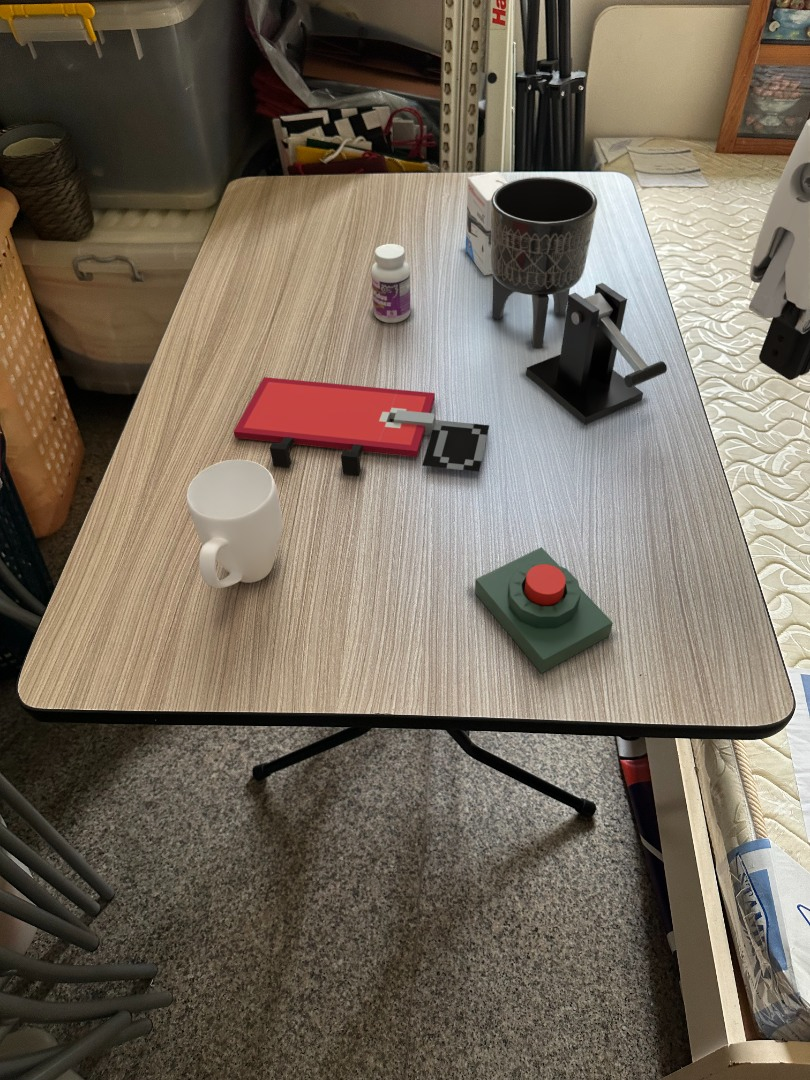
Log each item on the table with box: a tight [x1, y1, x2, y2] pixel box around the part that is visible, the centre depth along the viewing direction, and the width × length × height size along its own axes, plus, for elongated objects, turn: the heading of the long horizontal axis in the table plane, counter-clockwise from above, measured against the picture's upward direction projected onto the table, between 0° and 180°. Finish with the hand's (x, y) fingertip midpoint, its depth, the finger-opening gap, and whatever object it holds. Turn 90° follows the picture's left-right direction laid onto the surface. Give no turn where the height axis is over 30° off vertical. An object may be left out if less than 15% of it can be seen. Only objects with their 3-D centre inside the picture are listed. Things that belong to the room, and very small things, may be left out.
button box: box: [474, 547, 614, 674], centre depth 75 cm, size 11×8×4 cm
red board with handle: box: [233, 376, 490, 477], centre depth 94 cm, size 30×3×15 cm
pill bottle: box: [370, 243, 411, 324], centre depth 109 cm, size 5×5×10 cm
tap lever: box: [584, 293, 668, 388], centre depth 90 cm, size 12×5×2 cm, turn 30°
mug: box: [186, 459, 283, 589], centre depth 76 cm, size 12×8×11 cm
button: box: [525, 564, 566, 606], centre depth 73 cm, size 4×4×2 cm
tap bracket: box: [525, 282, 644, 426], centre depth 95 cm, size 12×9×13 cm
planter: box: [491, 176, 598, 349], centre depth 103 cm, size 13×13×18 cm
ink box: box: [465, 171, 509, 276], centre depth 117 cm, size 8×5×12 cm, turn 17°
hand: (782, 366), depth 57 cm, fingers closed
